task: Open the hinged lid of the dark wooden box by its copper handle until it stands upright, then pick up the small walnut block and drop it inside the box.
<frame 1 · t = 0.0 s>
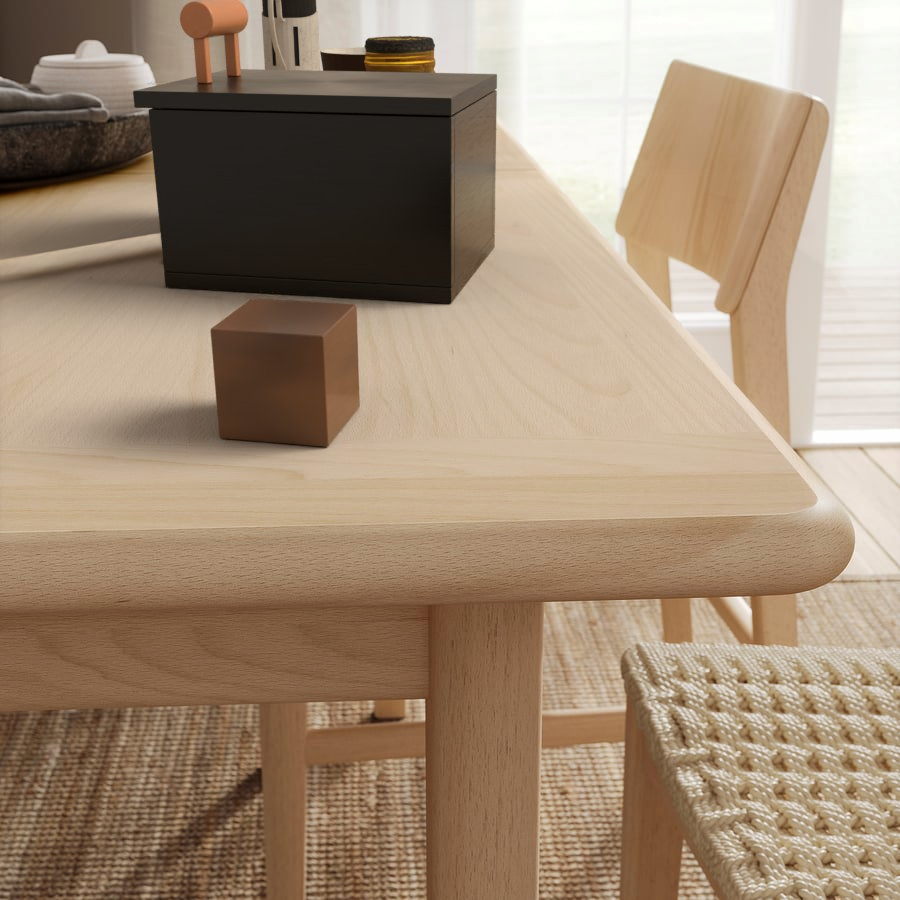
dark wooden box: (340, 266, 72), on the table
lid: (325, 49, 67), point 13 cm above the table, hinge at 0.0°
coffee mug: (365, 172, 105), on the table
block: (291, 422, 48), on the table
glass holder: (288, 93, 165), on the table
condiment: (405, 199, 93), on the table
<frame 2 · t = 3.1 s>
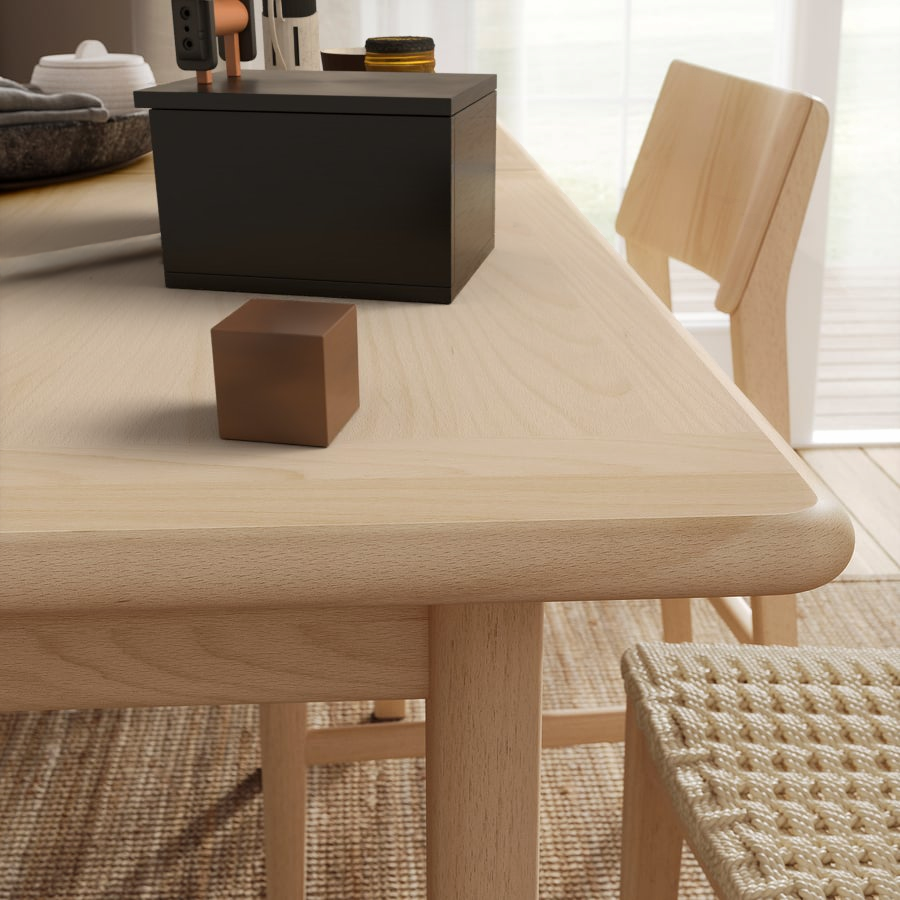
hand: (218, 64, 69), 12 cm above the table, tool pointing down, fingers closed on lid, 5 cm apart
lid: (325, 50, 67), point 13 cm above the table, hinge at 0.0°, touching gripper
everything else where it was.
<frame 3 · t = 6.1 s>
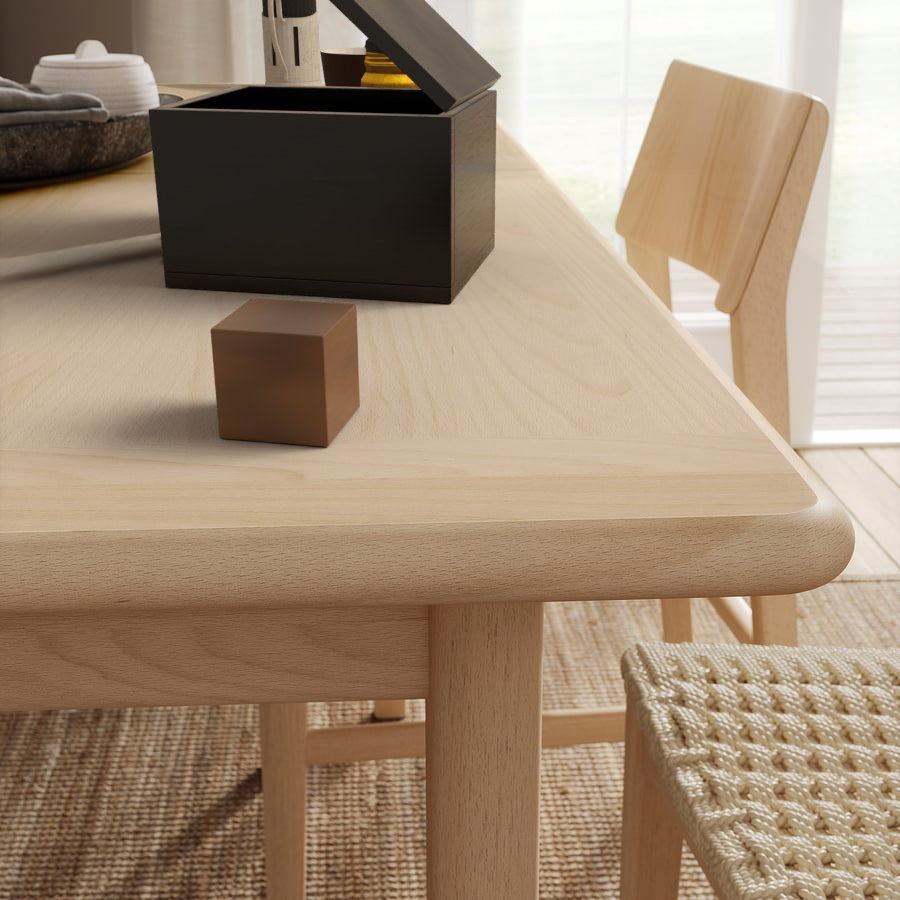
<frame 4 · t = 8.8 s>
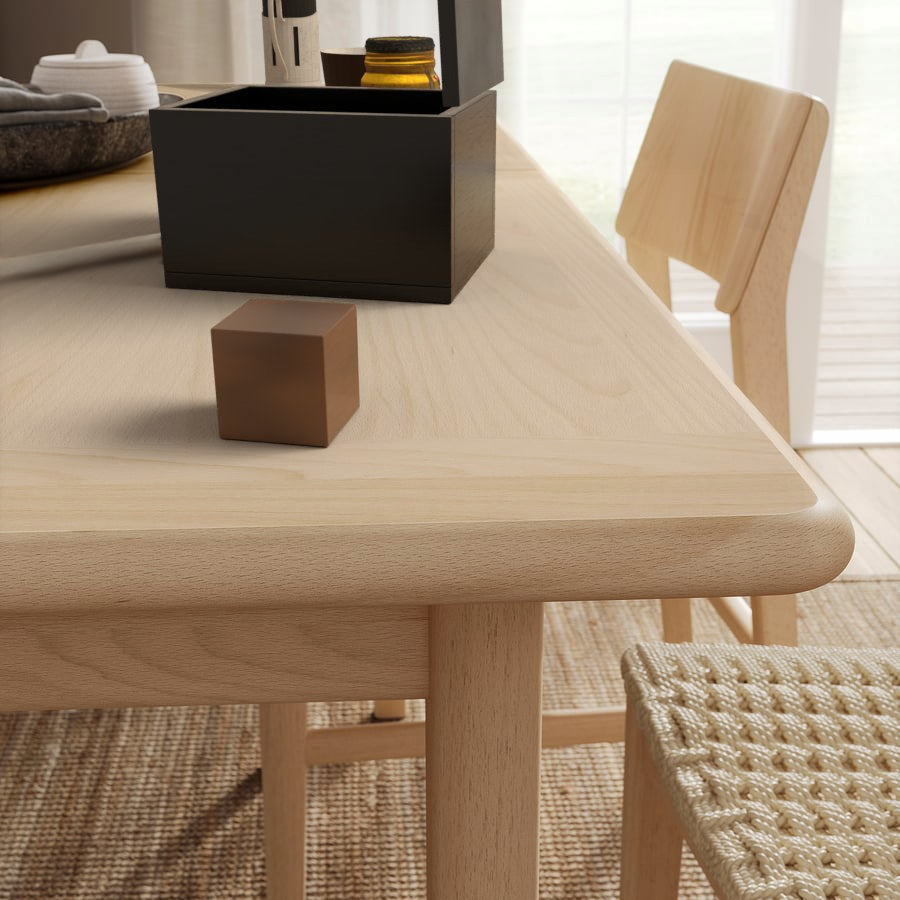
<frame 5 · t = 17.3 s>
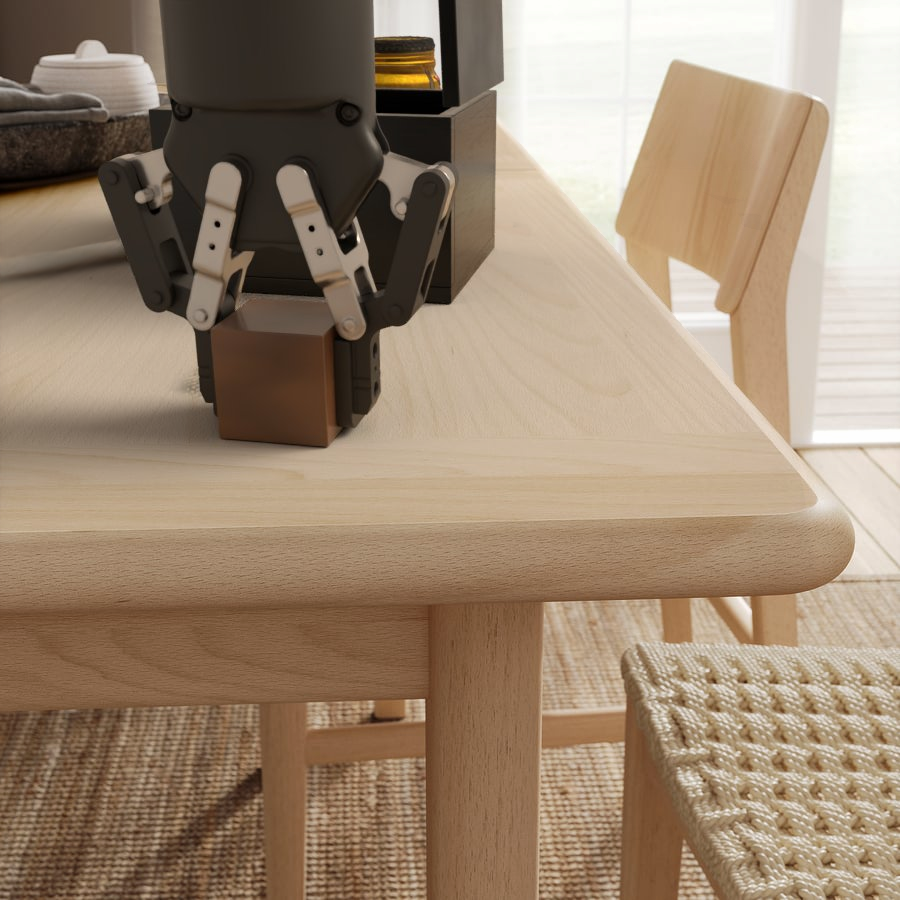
hand: (290, 414, 48), 0 cm above the table, tool pointing down, fingers closed on block, 4 cm apart
block: (291, 422, 48), on the table, touching gripper
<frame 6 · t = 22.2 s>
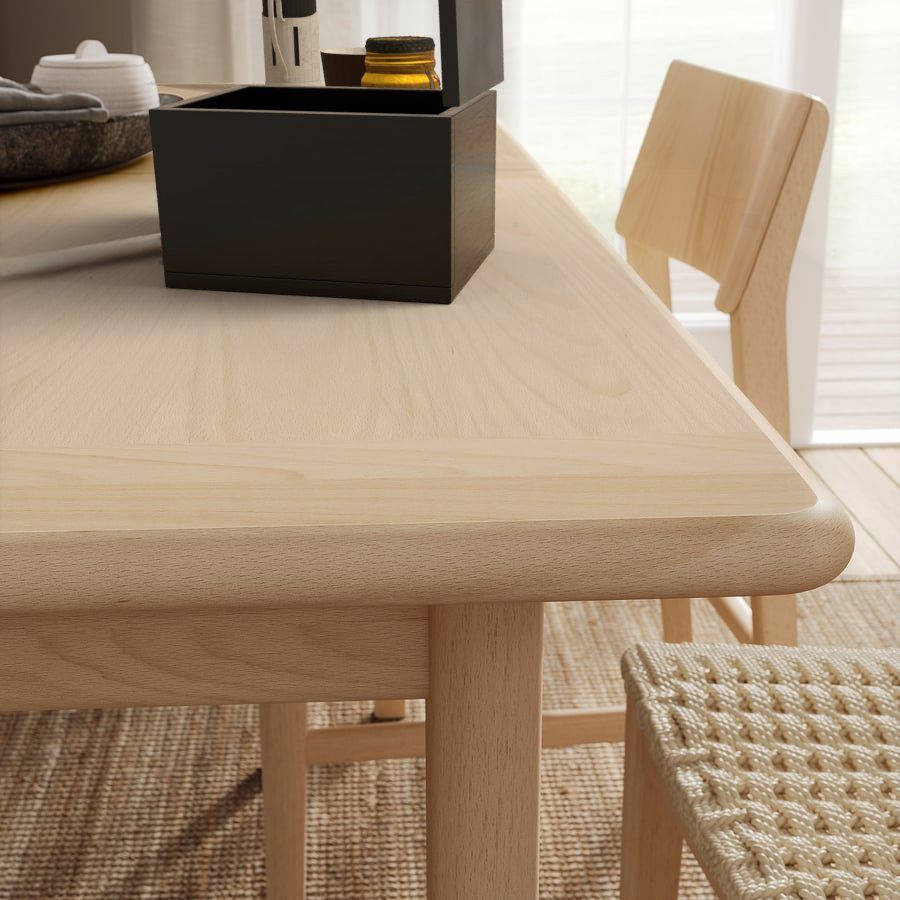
when the fingers open (10 cm above the table, at t = 27.3 s): block drops 9 cm, resting on dark wooden box.
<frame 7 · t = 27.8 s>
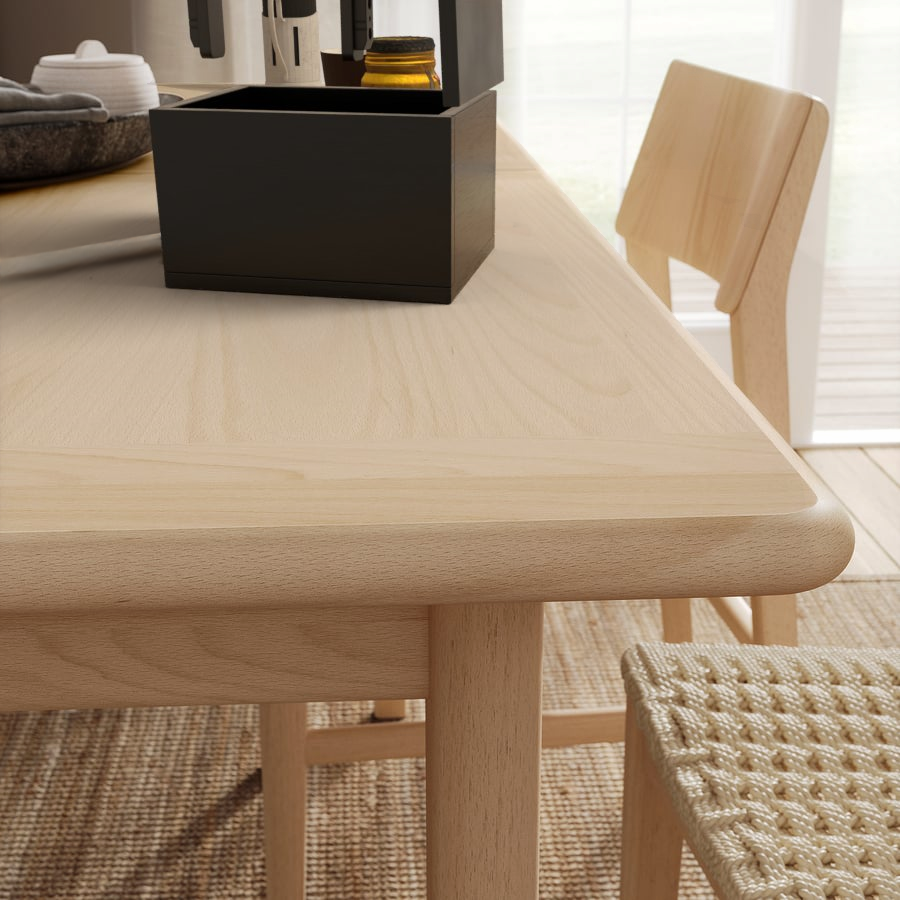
hand: (281, 59, 68), 12 cm above the table, tool pointing down, fingers open, 8 cm apart
block: (294, 249, 72), point 1 cm above the table, touching dark wooden box
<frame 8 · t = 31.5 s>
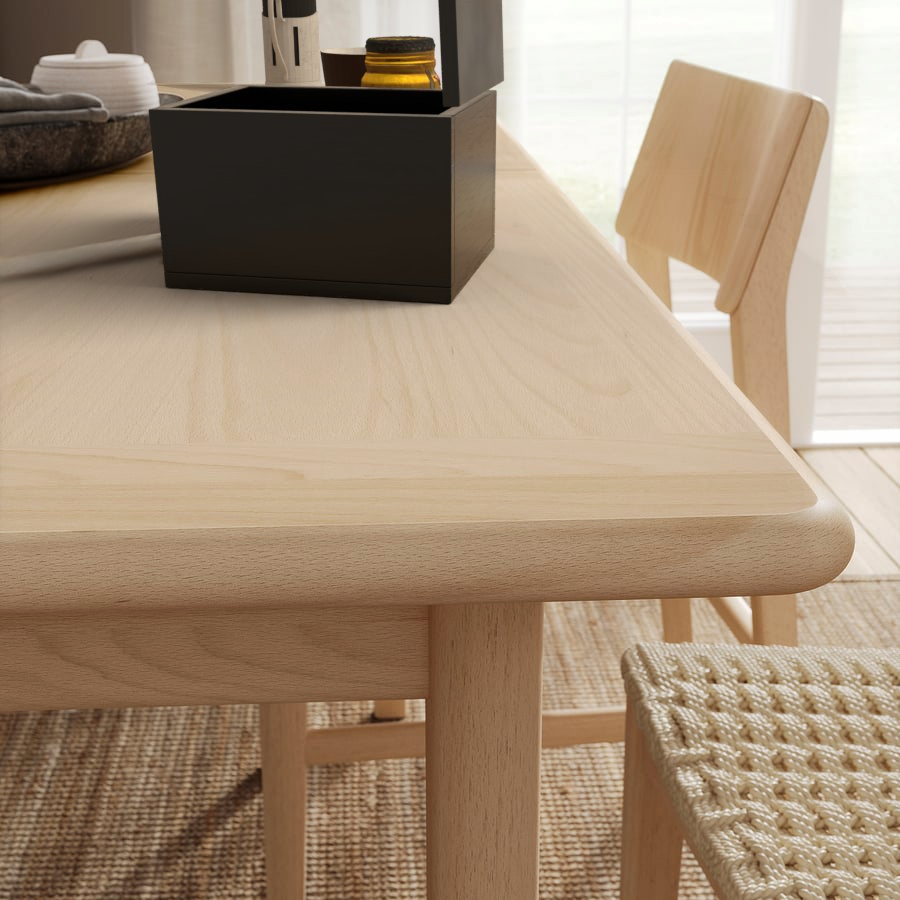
at the end: lid at +87° (first picture: +0°); block 2.9 cm from the dark wooden box (horizontally); block point 0.9 cm above the table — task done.
